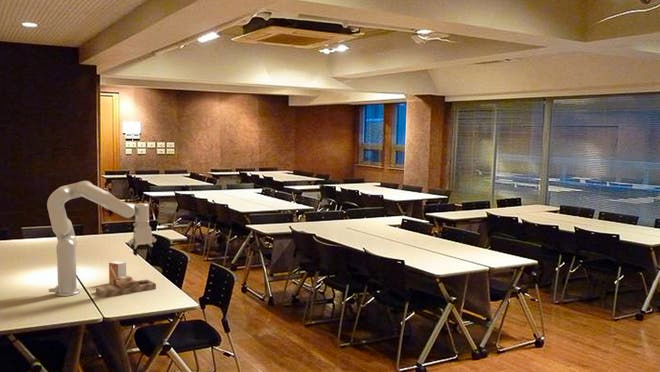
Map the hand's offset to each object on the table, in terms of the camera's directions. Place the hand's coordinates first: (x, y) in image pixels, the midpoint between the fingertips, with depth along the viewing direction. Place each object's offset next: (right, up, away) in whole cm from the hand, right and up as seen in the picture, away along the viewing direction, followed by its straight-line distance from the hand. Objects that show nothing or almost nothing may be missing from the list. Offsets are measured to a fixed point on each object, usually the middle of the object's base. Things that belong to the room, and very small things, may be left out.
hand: (142, 254), depth 331 cm
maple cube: (-8, -17, -5) cm, 20 cm away
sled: (-8, -17, -5) cm, 20 cm away
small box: (-19, -19, +11) cm, 29 cm away
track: (-8, -20, -5) cm, 22 cm away
